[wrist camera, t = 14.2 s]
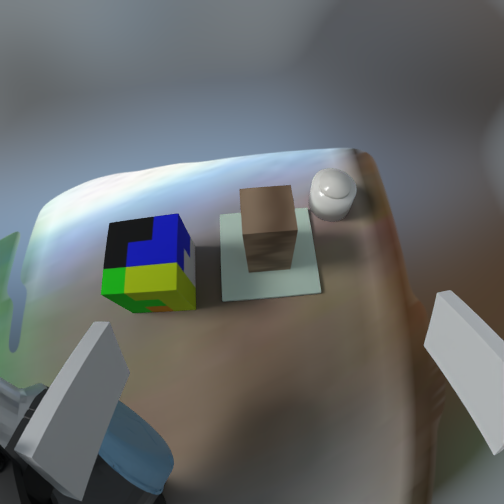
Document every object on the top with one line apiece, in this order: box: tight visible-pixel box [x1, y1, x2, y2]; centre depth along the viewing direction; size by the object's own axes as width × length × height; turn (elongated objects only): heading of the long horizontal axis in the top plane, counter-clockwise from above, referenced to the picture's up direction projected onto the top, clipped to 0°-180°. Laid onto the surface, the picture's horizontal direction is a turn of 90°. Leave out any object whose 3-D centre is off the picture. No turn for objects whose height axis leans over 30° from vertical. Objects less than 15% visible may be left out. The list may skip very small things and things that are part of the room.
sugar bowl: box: [309, 168, 357, 222], centre depth 45 cm, size 7×7×6 cm
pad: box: [220, 208, 321, 302], centre depth 44 cm, size 14×14×1 cm
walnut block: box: [240, 185, 298, 273], centre depth 38 cm, size 6×6×12 cm
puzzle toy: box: [101, 214, 196, 313], centre depth 39 cm, size 10×10×10 cm
